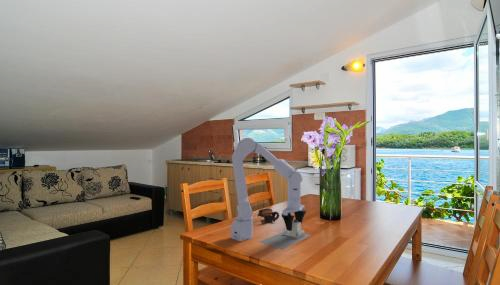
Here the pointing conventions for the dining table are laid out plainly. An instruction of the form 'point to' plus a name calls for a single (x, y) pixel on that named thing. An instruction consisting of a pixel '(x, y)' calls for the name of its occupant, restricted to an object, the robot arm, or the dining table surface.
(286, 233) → the end holder
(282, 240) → the board
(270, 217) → the pottery mug
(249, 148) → the robot arm
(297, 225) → the connector
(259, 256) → the dining table surface
